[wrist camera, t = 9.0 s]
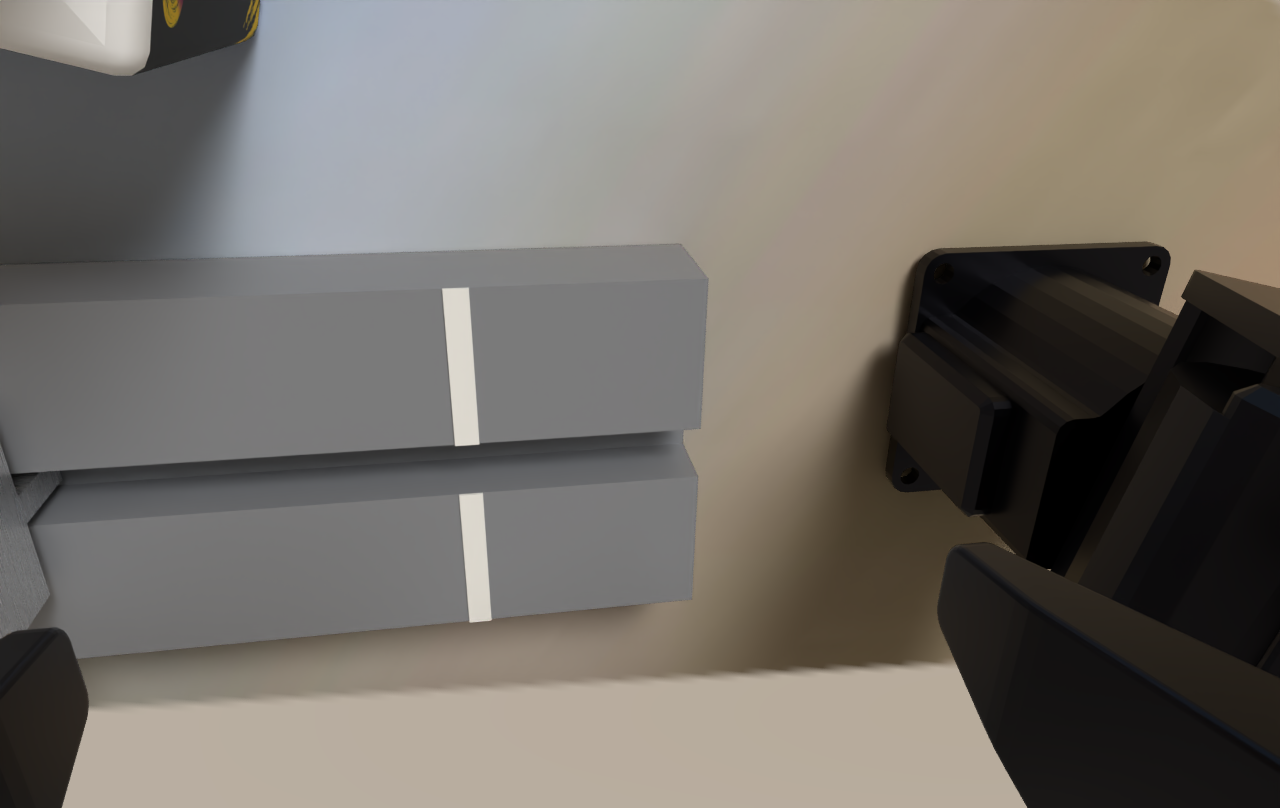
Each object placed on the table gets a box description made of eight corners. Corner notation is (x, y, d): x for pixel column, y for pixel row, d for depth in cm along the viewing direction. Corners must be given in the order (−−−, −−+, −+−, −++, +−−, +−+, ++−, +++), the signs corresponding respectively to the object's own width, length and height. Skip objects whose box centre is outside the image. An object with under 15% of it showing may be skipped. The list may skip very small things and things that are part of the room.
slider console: (680, 243, 20) (708, 279, 18) (669, 538, 24) (692, 601, 21) (-343, 275, 17) (-473, 323, 15) (-184, 611, 21) (-268, 694, 18)
